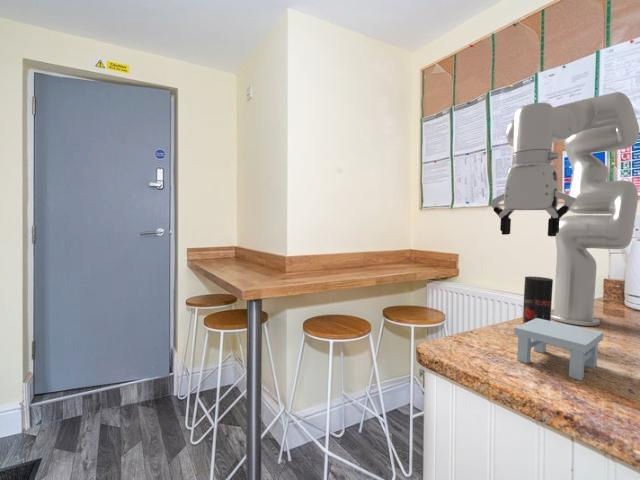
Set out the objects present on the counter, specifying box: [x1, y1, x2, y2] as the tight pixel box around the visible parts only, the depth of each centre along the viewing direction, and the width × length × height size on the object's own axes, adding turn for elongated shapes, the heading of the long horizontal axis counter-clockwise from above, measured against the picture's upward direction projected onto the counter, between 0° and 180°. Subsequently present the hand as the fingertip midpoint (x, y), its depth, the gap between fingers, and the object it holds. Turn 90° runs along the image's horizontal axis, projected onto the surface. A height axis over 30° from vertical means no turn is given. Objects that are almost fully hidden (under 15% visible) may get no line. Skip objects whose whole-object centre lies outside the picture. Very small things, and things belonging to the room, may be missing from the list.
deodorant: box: [522, 276, 554, 324], centre depth 84 cm, size 6×6×15 cm
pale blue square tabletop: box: [513, 318, 604, 381], centre depth 68 cm, size 12×12×7 cm
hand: (527, 235), depth 77 cm, fingers open, 9 cm apart
